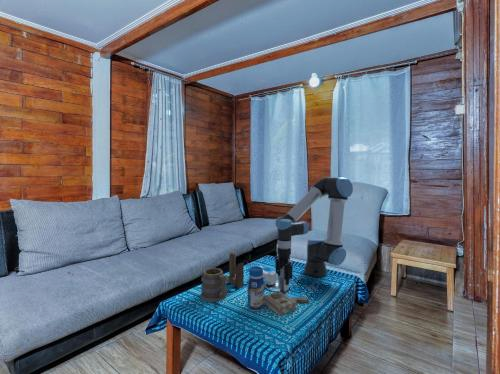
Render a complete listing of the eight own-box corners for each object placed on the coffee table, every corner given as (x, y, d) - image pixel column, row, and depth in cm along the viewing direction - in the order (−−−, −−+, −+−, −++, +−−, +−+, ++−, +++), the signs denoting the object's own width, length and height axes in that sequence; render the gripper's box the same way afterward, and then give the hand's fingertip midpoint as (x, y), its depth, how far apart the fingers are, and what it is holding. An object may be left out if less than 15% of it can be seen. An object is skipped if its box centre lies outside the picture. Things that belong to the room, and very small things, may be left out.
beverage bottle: (254, 301, 142) (254, 264, 141) (267, 307, 137) (267, 268, 136) (243, 308, 136) (244, 268, 134) (256, 314, 130) (257, 273, 129)
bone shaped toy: (252, 280, 172) (251, 268, 170) (262, 275, 177) (261, 263, 176) (269, 288, 160) (268, 275, 159) (279, 283, 166) (278, 270, 165)
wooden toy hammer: (238, 287, 159) (239, 257, 157) (227, 282, 167) (227, 253, 165) (243, 286, 161) (244, 256, 160) (232, 280, 169) (232, 252, 168)
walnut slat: (307, 300, 145) (307, 297, 145) (308, 303, 142) (308, 300, 142) (290, 300, 145) (290, 297, 145) (291, 303, 142) (291, 300, 142)
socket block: (278, 297, 147) (279, 291, 147) (296, 308, 136) (296, 301, 136) (262, 302, 142) (262, 296, 141) (279, 314, 130) (279, 307, 130)
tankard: (196, 295, 149) (196, 268, 148) (216, 289, 157) (216, 263, 156) (216, 310, 133) (216, 280, 132) (237, 302, 141) (237, 274, 140)
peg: (283, 290, 155) (284, 266, 155) (287, 293, 152) (288, 268, 152) (278, 292, 154) (279, 268, 153) (282, 294, 150) (283, 270, 150)
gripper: (269, 244, 156) (268, 284, 158) (289, 252, 142) (288, 296, 144) (279, 242, 160) (278, 281, 162) (300, 250, 146) (298, 292, 148)
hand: (283, 288), depth 153 cm, fingers open, 4 cm apart
